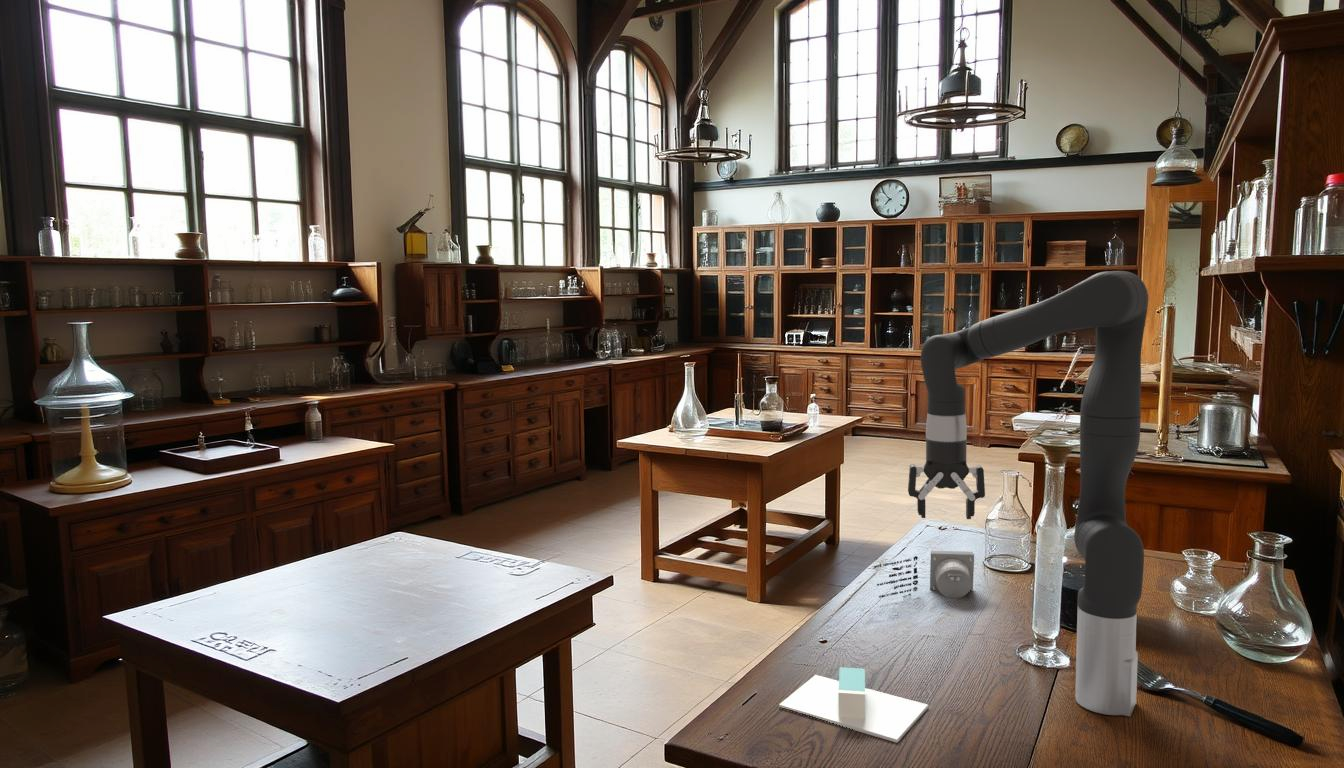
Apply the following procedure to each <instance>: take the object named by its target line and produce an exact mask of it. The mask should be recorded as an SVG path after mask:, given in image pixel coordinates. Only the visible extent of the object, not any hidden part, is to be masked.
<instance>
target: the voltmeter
mask: <svg viewBox="0 0 1344 768" xmlns="http://www.w3.org/2000/svg"><path fill="white" fill-rule="evenodd" d="M918 559H919V558H918V556H916V555H915V556H914V557H913V561H914V562H915V561H916V562H915V564H913V567H914V568H913V574H914V575H912V576H909V577H904V578H900V579H895V580H890V581H884V582H881V583H877V584H876V586H884V585H889V584H892V585H893V584H895V583H898V582H903V581H909V580H913V581H912V582H910V583H904V584H899V585H898V584H897V585H895V586H893V589H894V590H897V589H898V588H903V587H909V586H910V587H911V586H912V585H914V587H913V588H910V589H907V590H906V589H905V590H901V591H899V592H898V591H895V592H890V593H886V594H880V595H878V598H885V597H889V596H895V595H898V594H904V593H908V592H911V591H913V592H917V591H918V586H917V585H918V583H919V581H918V580H919V579H918V578H919V576H918V575H919V574H918V567H916V566H917V564H918V562H917V561H918ZM902 562H903V563H905V562H906V563H908V562H912V559H911V558H908V559H903V560H897V561H892V562H889V563H888V562H886V563H883V564H881V563H879V564H878V565H877V564H876V565H873V568H874V569H876V568H877V569H878V568H879V567H880V568H882V566H883V567H887V566H893V565H897V564H902ZM929 562H930V572H929V573H930V574H929V590H930V591H931V590H933V591H935V590H936V591H937V590H938V591H939V592H940V594H941V595H943V596H944V597H947V598H949V597H957V598H956V599H959V598H962V597H964V596H967V594H968V593H969V592H971V591H970V590H974V570H975V567H974V566H975V554H974V552H973V551H961V550H958V551H957V550H955V551H954V550H953V551H951V550H930V561H929ZM905 568H906V569H908V568H912V565H911V564H906V565H905ZM899 569H900V570H903V569H904V565H902V566H899V567H898V566H897V567H894V571H896V570H898V571H899ZM904 572H905V573H904ZM904 572H903V571H902V572H898V573H893V574H892V573H891V574H889V575H888V577H889V578H893V577H898V576H901V575H907V574H912V571H911V570H907V571H904ZM917 579H918V580H917ZM911 596H912V593H908V594H907V595H906V594H905V595H902V597H903V599H904V598H905V599H906V598H910V597H911Z"/></svg>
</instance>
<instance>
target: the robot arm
mask: <svg viewBox="0 0 1344 768" xmlns="http://www.w3.org/2000/svg"><path fill="white" fill-rule="evenodd" d="M1148 306H1149V294H1148V289H1147V286H1146V284H1145V283H1144V281H1143V280H1142V279H1141V278H1140V277H1139V276H1138V275H1137V274H1135V273H1133V272H1130V271H1127V270H1126V271H1125V270H1110V271H1109V270H1108V271H1107V270H1105V271H1101V272H1098V273H1095V274H1093V275H1091V276H1089V277H1087V278H1086V279H1084V280H1082V281H1080V282H1078V283H1077V284H1075V285H1073V286H1072V287H1069V288H1068V289H1066V290H1063V291H1062V292H1060V293H1058V294H1055V295H1053V296H1050V297H1049V298H1046V299H1044V300H1042V301H1039V302H1037V303H1033V304H1030V305H1027V306H1024V307H1021V308H1017V309H1014V310H1011V311H1008V312H1004V313H1001V314H998V315H995V316H992V317H990V318H986V319H983V320H981V321H978V322H976V323H974V324H972V325H971V326H970V327H967V328H964V329H961V330H958V331H955V332H951V333H950V332H949V333H943V334H936V335H932V336H930V337H928V338H927V339H926V340H925V341H924V343H923V345H922V346H921V347H922V348H921V351H920V365H921V370H922V375H923V380H924V383H925V386H926V387H925V388H926V390H927V417H926V423H925V425H926V426H925V463H924V465H916V464H912V463H911V464H909V466H908V467H909V469H908V485H907V492H908V495H909V497H914V498H916V499H917V509H916V510H917V513H918V515H919V516H920V517H921V519H926V497H927V496H928V494H929V493H931V492H932V491H933V489H935V488H937V489H945V488H947V489H950V490H951V489H953V490H954V489H956V488H958V487H959V488H960V490H961V491H962V493H964V495H965V496H966V498H965V517H966V520H971V519H972V517H974V516H975V505H976V503H975V501H976V500H978V499H983V498H985V496H986V488H985V487H986V485H985V469H984V468H983V467H982V465H980V464H977V465H976V466H968V465H967V444H968V443H967V442H968V441H967V437H968V436H967V432H968V431H967V417H966V388H965V387H964V386H963V385H962V384H960V383H958V382H957V375H956V370H958V369H961V368H964V367H968V366H971V365H974V364H975V363H977V362H980V361H982V360H984V359H989V358H990V359H992V358H993V357H998V356H1001V355H1005V354H1008V353H1011V352H1013V351H1017V350H1020V349H1023V348H1026V347H1027V346H1030V345H1032V344H1035V343H1037V342H1040V341H1041V340H1044V339H1047V338H1049V337H1052V336H1056V335H1058V334H1059V335H1060V334H1061V333H1066V332H1070V331H1075V330H1077V331H1078V330H1083V329H1091V328H1095V352H1094V358H1093V361H1092V362H1093V363H1092V364H1091V369H1090V371H1089V375H1088V377H1087V380H1086V382H1085V386H1084V389H1083V393H1082V397H1081V402H1080V410H1079V411H1080V414H1079V471H1080V473H1079V474H1080V487H1079V488H1080V489H1079V490H1080V491H1079V498H1078V499H1079V500H1078V506H1077V513H1076V520H1075V525H1074V535H1073V536H1074V537H1073V539H1074V544H1075V548H1076V550H1077V552H1078V553H1079V555H1080V556H1081V557H1082V558H1083V559H1084V575H1083V577H1084V582H1083V587H1081V588H1080V589H1079V590H1078V592H1077V614H1076V616H1077V619H1076V620H1077V622H1076V659H1075V660H1076V661H1075V688H1074V689H1075V701H1076V703H1077V704H1079V706H1081V707H1083V708H1085V709H1086V710H1088V711H1091V712H1094V713H1098V714H1101V715H1107V716H1125V717H1131V716H1132V714H1133V711H1134V709H1135V707H1136V705H1137V693H1138V692H1137V690H1138V689H1137V688H1138V658H1139V653H1138V652H1139V651H1137V650H1136V648H1137V647H1136V643H1137V618H1138V617H1137V611H1138V604H1139V602H1140V600H1141V597H1142V592H1143V582H1144V580H1143V579H1144V571H1145V569H1144V568H1145V567H1144V566H1145V550H1144V549H1145V548H1144V544H1143V541H1142V539H1141V537H1140V535H1139V534H1138V533H1137V531H1135V530H1134V529H1133V528H1132V527H1130V526H1129V525H1128V524H1127V517H1126V488H1127V487H1126V486H1127V481H1128V477H1129V474H1130V472H1131V470H1132V467H1133V465H1134V463H1135V459H1136V456H1137V454H1138V449H1139V445H1140V438H1141V419H1142V417H1141V415H1142V412H1141V411H1142V410H1141V409H1142V408H1141V407H1142V404H1141V401H1142V400H1141V398H1142V394H1141V392H1142V361H1141V360H1142V347H1143V341H1144V332H1145V328H1146V327H1145V326H1146V320H1147V314H1148ZM922 473H924V475H925V476H926V477H927V480H926V481H925V482H924V483H923V484H922V486H921V487H920V488H919V490H918V489H916V488H917V487H916V486H917V485H916V484H917V483H916V482H917V478H919V477H921V474H922ZM969 473H970V474H971V476H972V477H973V478H975V483H976V484H975V485H976V490H973V491H972V490H971V488H969V486H968V484H967V483H966V482H965V481H964V480H965V479H966V478H967V476H968V474H969Z"/></svg>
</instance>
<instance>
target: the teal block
mask: <svg viewBox="0 0 1344 768" xmlns="http://www.w3.org/2000/svg"><path fill="white" fill-rule="evenodd" d="M838 670H839V671H838V672H839V673H838V674H839V675H838V681H839V690H838V707H839V718H852V719H865V688H866V669H865V668H859V667H858V668H857V667H841V666H839V669H838Z"/></svg>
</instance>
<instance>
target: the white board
mask: <svg viewBox="0 0 1344 768" xmlns="http://www.w3.org/2000/svg"><path fill="white" fill-rule="evenodd" d="M838 690H839V680H836V679H834V678H830V677H825V676H821V675H818V674H814V676H812V677H811V678H810V679H808V680H807V681H806V682H805V683H803V684H802V685H801V686H799V687H798V688H797V689H796V690H795V691H794V692H792V693H791V694H790V695H789V696H788V697H787V698H785V699H783V700H782V702H780V703H779V704H778V707H782V708H786V709H790V710H793V711H797V712H799V713H803V714H806V715H810V716H813V717H816V718H819V719H822V720H826V721H828V722H827V723H829V722H830V724H832V723H834V724H833V725H836V724H837V725H836V726H839V725H840V726H839V727H842V726H843V727H842V728H846V727H847V728H846V729H849V728H850V729H849V730H852V729H853V730H852V731H856V732H859V733H862V734H867V735H869V736H873V737H876V738H880V739H883V740H886V741H889V742H894V743H896V744H897V743H898V742H899V741H901V740H902V738H903V737H904V736H905V735H906V733H907V732H909V730H910V729H911V728H912V727H913V726H914V725H915V723H917V721H918V720H920V718H921V717H922V716H923V715H924V713H925V712H926V711H927V710H928V709H929V704H927V703H923V702H920V701H915V700H912V699H908V698H905V697H900V696H897V695H893V694H890V693H886V692H882V691H878V690H874V689H872V688H871V689H870V688H868V687H867V688H866V687H865V719H852V718H839V707H838ZM782 708H781V709H782ZM799 713H798V714H799ZM819 719H818V720H819ZM822 720H821V721H822ZM826 721H825V722H826Z"/></svg>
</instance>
